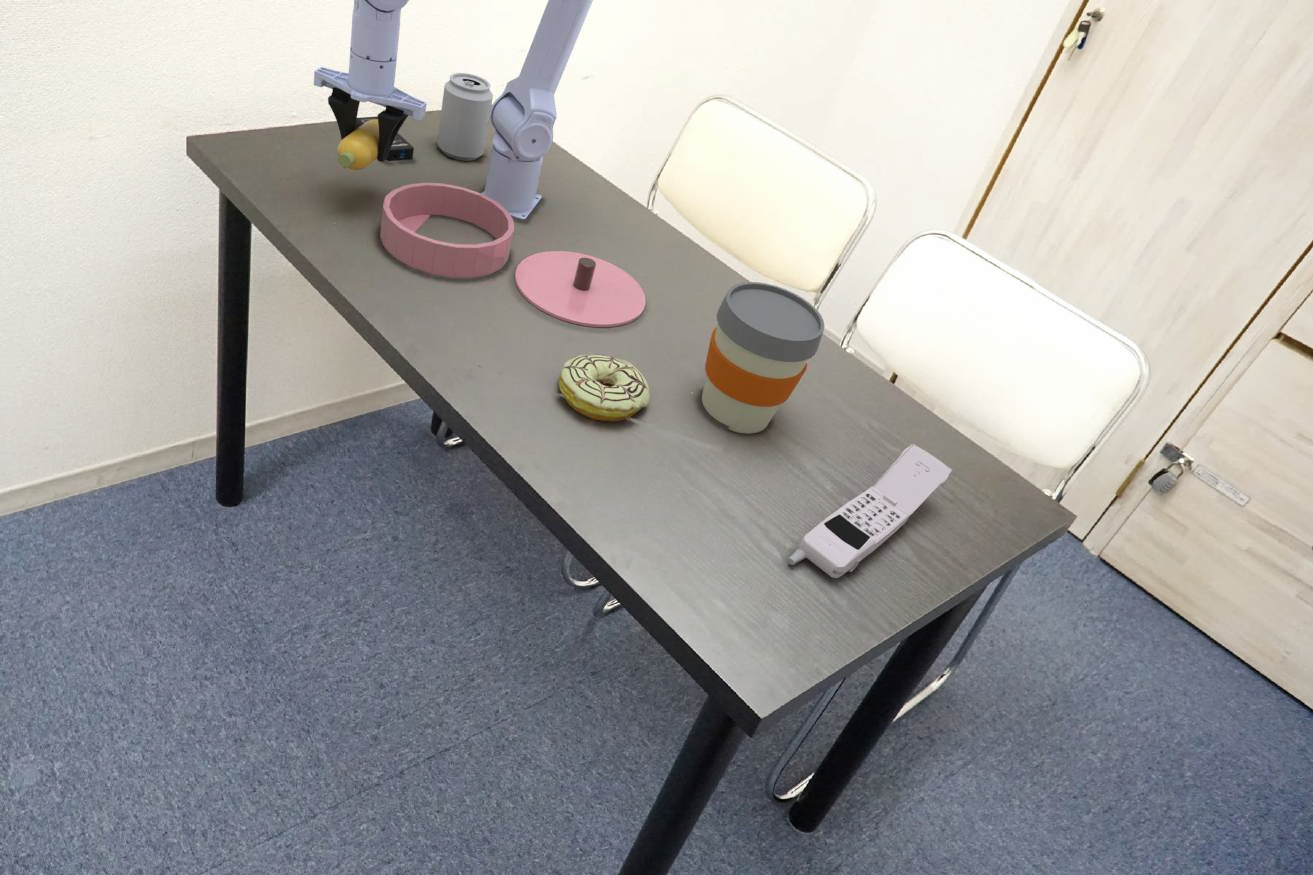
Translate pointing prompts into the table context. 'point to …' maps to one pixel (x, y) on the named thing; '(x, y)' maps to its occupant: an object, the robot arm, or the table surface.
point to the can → (464, 116)
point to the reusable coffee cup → (758, 354)
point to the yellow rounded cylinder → (360, 146)
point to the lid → (580, 289)
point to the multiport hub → (393, 144)
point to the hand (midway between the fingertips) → (365, 153)
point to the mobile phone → (872, 514)
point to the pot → (436, 257)
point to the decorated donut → (603, 387)
